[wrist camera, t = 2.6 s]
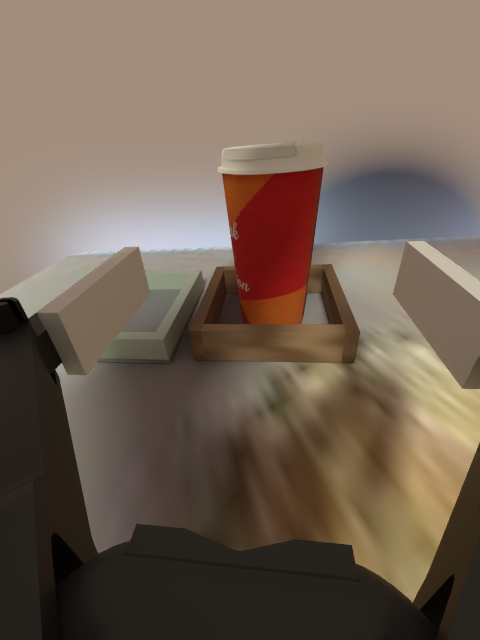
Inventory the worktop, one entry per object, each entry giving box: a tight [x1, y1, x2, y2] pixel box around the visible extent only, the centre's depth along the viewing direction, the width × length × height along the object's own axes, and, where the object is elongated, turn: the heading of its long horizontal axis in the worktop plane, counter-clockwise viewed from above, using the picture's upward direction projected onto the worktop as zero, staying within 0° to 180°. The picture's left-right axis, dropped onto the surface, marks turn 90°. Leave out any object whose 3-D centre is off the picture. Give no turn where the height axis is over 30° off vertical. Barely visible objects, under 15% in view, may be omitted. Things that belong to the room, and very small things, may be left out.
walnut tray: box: [188, 264, 360, 363], centre depth 28 cm, size 13×13×3 cm
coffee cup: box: [217, 142, 329, 324], centre depth 25 cm, size 8×8×15 cm
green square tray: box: [97, 269, 204, 363], centre depth 30 cm, size 14×14×2 cm
